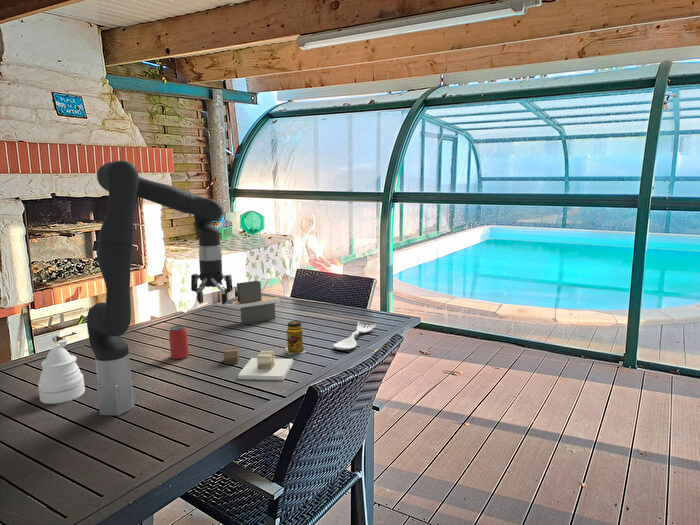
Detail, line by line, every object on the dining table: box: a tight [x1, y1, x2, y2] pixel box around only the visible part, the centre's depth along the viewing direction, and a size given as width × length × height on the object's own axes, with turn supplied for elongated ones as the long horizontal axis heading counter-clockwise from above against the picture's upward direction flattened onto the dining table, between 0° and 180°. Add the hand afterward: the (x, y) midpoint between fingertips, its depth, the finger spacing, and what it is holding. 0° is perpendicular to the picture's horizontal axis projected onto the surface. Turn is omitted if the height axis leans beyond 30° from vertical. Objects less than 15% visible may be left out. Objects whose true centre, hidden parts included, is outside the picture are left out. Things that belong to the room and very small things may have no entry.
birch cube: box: [256, 350, 276, 370], centre depth 178 cm, size 5×5×5 cm
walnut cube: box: [223, 345, 240, 365], centre depth 188 cm, size 5×5×5 cm
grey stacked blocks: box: [232, 280, 281, 326], centre depth 237 cm, size 38×25×20 cm, turn 121°
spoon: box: [332, 321, 377, 351], centre depth 209 cm, size 9×32×4 cm, turn 158°
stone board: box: [237, 357, 294, 381], centre depth 178 cm, size 16×16×2 cm
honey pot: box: [37, 339, 86, 405], centre depth 160 cm, size 13×13×18 cm
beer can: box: [168, 325, 190, 360], centre depth 192 cm, size 7×7×12 cm
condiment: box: [284, 320, 307, 356], centre depth 197 cm, size 7×8×12 cm
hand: (212, 303), depth 174 cm, fingers open, 8 cm apart
